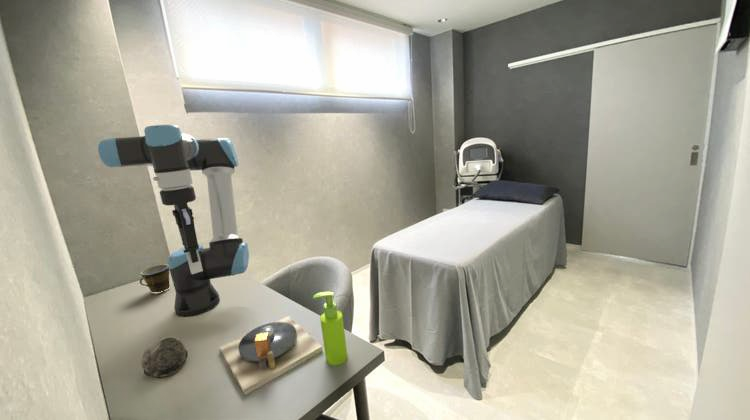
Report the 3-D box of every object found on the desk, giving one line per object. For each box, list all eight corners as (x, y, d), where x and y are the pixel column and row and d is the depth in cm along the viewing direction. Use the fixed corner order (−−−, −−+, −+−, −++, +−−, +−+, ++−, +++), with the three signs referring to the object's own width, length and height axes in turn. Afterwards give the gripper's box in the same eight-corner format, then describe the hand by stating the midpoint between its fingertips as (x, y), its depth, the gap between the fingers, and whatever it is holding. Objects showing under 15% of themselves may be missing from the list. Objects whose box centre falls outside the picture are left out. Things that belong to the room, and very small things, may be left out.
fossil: (166, 384, 83) (142, 354, 81) (146, 393, 86) (123, 365, 84) (197, 354, 93) (176, 327, 91) (178, 363, 96) (158, 337, 94)
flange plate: (246, 331, 98) (242, 312, 97) (298, 322, 101) (295, 304, 99) (230, 373, 81) (225, 352, 79) (294, 362, 83) (290, 340, 82)
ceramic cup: (159, 284, 142) (153, 264, 139) (179, 284, 141) (174, 264, 138) (134, 300, 130) (128, 278, 127) (156, 300, 128) (150, 278, 126)
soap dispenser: (323, 352, 90) (314, 289, 85) (347, 349, 91) (339, 286, 86) (321, 367, 85) (311, 300, 80) (347, 363, 85) (339, 297, 80)
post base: (220, 351, 94) (216, 334, 93) (289, 319, 107) (286, 304, 106) (244, 395, 78) (240, 374, 76) (322, 350, 91) (319, 332, 89)
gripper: (155, 187, 83) (177, 269, 89) (162, 193, 74) (186, 284, 80) (187, 182, 88) (206, 261, 94) (198, 187, 78) (217, 274, 84)
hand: (196, 271), depth 87 cm, fingers closed
